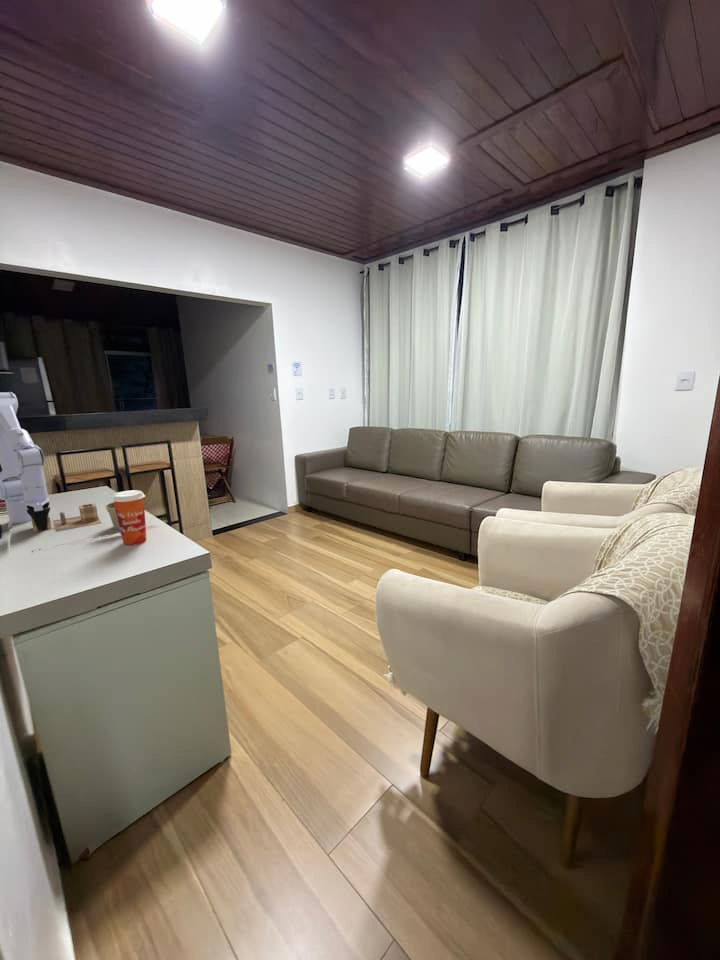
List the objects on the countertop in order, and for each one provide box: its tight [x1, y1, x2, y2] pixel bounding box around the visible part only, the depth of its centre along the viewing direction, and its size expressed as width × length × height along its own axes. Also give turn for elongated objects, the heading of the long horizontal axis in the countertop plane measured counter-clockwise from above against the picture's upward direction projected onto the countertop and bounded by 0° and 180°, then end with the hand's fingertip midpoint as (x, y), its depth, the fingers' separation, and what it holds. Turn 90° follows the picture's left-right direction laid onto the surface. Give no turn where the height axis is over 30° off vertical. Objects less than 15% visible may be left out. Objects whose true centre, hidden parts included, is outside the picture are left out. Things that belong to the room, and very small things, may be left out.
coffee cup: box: [111, 489, 147, 546], centre depth 111 cm, size 8×8×15 cm
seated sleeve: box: [78, 502, 99, 522], centre depth 128 cm, size 4×4×5 cm
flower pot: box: [104, 501, 121, 533], centre depth 122 cm, size 9×9×9 cm
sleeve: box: [31, 513, 53, 532], centre depth 120 cm, size 4×4×5 cm
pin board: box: [53, 511, 102, 533], centre depth 126 cm, size 14×12×5 cm
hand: (42, 527), depth 120 cm, fingers closed on sleeve, 4 cm apart
